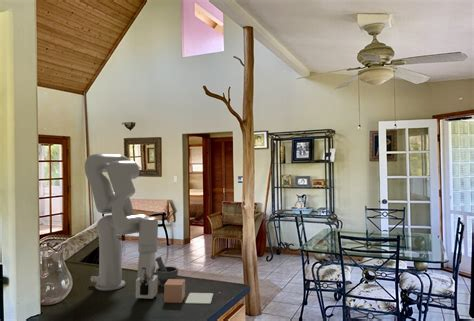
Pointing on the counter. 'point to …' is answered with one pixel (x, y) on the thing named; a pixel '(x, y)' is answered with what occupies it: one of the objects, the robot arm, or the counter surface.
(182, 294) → the orange-brown cube
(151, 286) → the white cube
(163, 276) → the mortar and pestle
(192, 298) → the sage pad
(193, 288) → the counter surface
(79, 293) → the counter surface
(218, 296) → the counter surface
